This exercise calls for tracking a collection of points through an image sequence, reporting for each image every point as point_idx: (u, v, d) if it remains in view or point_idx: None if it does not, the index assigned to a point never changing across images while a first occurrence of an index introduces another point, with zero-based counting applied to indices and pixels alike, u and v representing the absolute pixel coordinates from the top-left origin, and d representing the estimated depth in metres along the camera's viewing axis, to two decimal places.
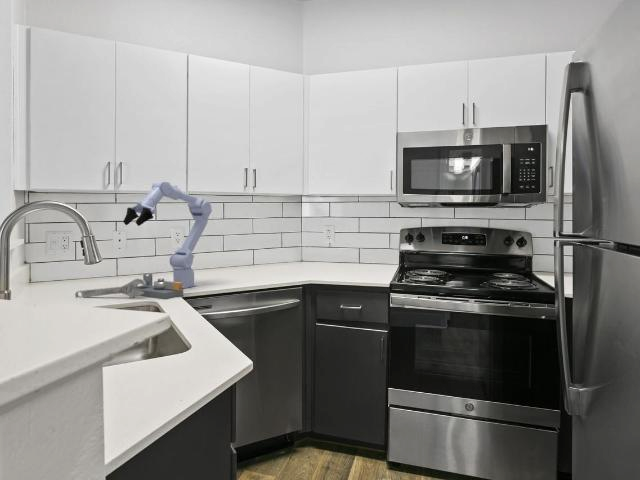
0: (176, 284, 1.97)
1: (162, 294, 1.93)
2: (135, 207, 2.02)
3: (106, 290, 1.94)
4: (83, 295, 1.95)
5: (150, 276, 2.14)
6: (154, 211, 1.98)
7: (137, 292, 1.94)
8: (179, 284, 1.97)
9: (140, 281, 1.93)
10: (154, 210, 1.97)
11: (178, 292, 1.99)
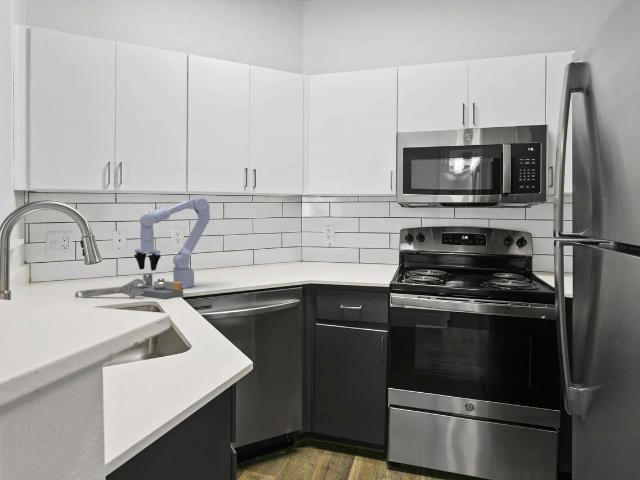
0: (176, 284, 1.97)
1: (162, 294, 1.93)
2: None
3: (106, 290, 1.94)
4: (83, 295, 1.95)
5: (150, 276, 2.14)
6: (158, 253, 2.11)
7: (137, 292, 1.94)
8: (179, 284, 1.97)
9: (140, 281, 1.93)
10: (158, 252, 2.11)
11: (178, 292, 1.99)
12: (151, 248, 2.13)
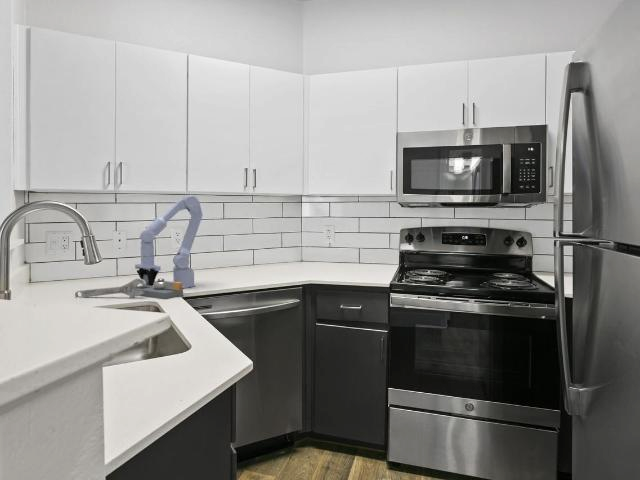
0: (176, 284, 1.97)
1: (162, 294, 1.93)
2: None
3: (106, 290, 1.94)
4: (83, 295, 1.95)
5: None
6: (159, 268, 2.12)
7: (137, 292, 1.94)
8: (179, 284, 1.97)
9: (140, 281, 1.94)
10: (158, 268, 2.11)
11: (178, 292, 1.99)
12: (151, 264, 2.13)
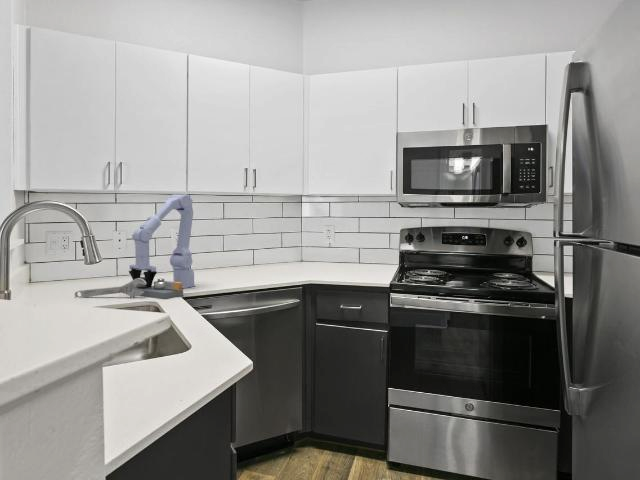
0: (176, 284, 1.97)
1: (162, 294, 1.93)
2: (134, 267, 2.05)
3: (106, 290, 1.95)
4: (83, 295, 1.95)
5: None
6: (154, 269, 2.02)
7: (137, 291, 1.95)
8: (179, 284, 1.97)
9: (141, 281, 1.94)
10: (154, 268, 2.01)
11: (178, 292, 1.99)
12: (146, 264, 2.04)
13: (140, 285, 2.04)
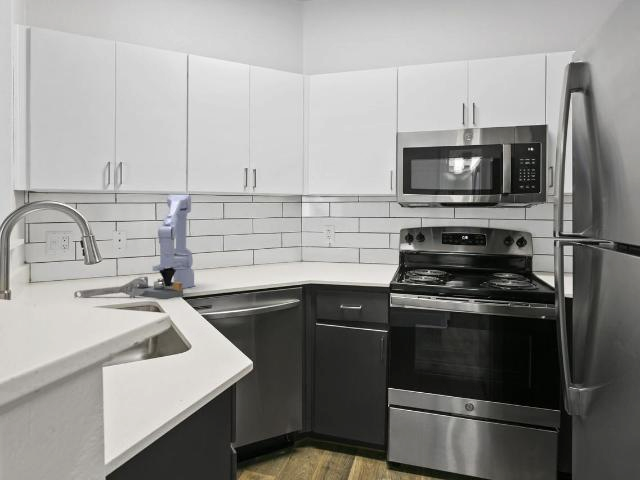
0: (176, 284, 1.97)
1: (162, 294, 1.93)
2: None
3: (106, 290, 1.95)
4: (82, 295, 1.95)
5: (146, 279, 2.05)
6: (154, 269, 1.91)
7: (137, 291, 1.95)
8: (179, 284, 1.97)
9: (141, 281, 1.95)
10: (154, 268, 1.92)
11: (178, 292, 1.99)
12: (162, 263, 1.95)
13: (140, 285, 2.04)
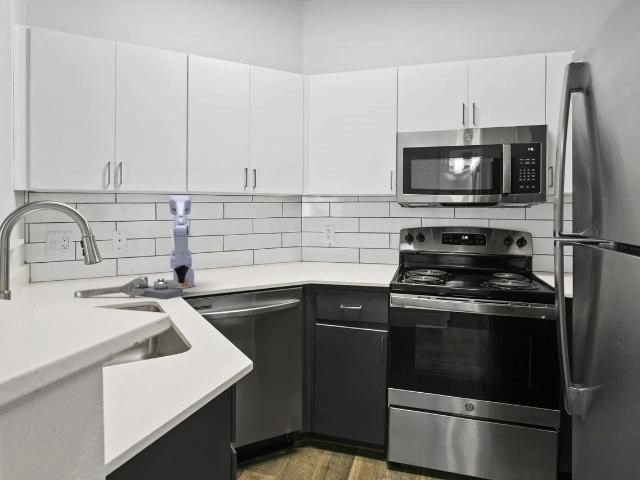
0: (185, 280, 2.07)
1: (162, 294, 1.93)
2: None
3: (106, 290, 1.95)
4: (82, 295, 1.95)
5: (146, 279, 2.05)
6: (173, 266, 1.98)
7: (137, 291, 1.95)
8: None
9: (141, 281, 1.95)
10: (172, 265, 1.98)
11: (178, 292, 1.99)
12: (177, 261, 2.02)
13: (140, 285, 2.04)
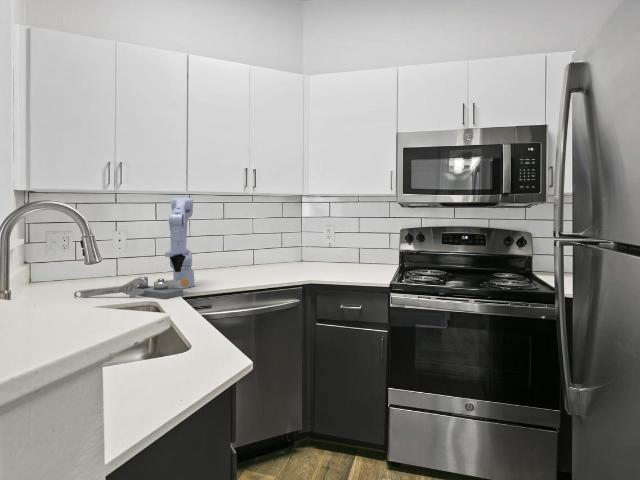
0: (185, 280, 2.07)
1: (162, 294, 1.93)
2: None
3: (106, 290, 1.95)
4: (82, 295, 1.95)
5: (146, 279, 2.05)
6: (167, 255, 1.99)
7: (137, 291, 1.96)
8: None
9: (141, 281, 1.95)
10: (166, 254, 1.99)
11: (178, 292, 1.99)
12: (173, 249, 2.03)
13: (140, 285, 2.04)
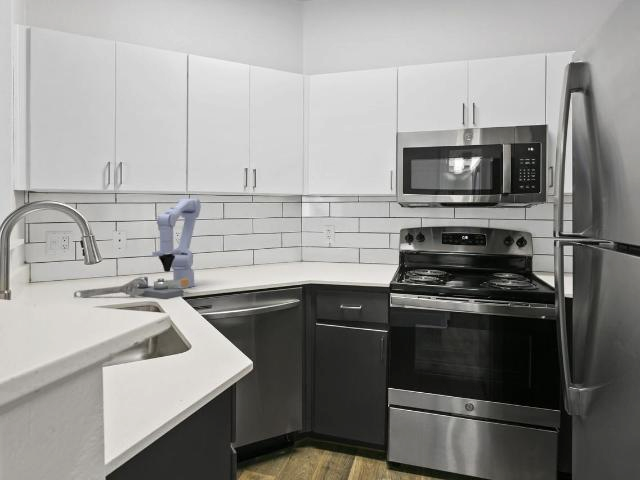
0: (185, 280, 2.07)
1: (162, 294, 1.93)
2: None
3: (106, 290, 1.95)
4: (82, 295, 1.95)
5: (146, 279, 2.05)
6: (154, 254, 2.00)
7: (138, 291, 1.96)
8: None
9: (141, 281, 1.96)
10: (153, 254, 2.00)
11: (178, 292, 1.99)
12: (161, 249, 2.04)
13: (140, 285, 2.04)
